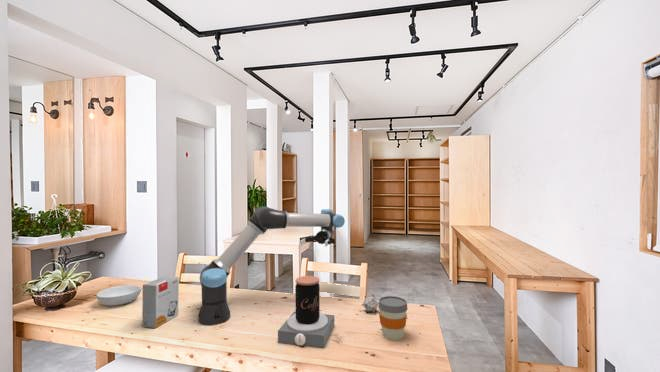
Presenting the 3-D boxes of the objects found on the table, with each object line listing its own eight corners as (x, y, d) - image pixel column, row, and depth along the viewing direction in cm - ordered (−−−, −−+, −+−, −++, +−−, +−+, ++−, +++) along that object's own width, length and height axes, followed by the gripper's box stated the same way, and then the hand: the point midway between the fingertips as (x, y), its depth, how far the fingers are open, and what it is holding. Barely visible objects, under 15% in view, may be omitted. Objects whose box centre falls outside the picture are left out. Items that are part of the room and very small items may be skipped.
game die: (373, 319, 160) (379, 309, 154) (358, 312, 161) (363, 301, 155) (377, 305, 167) (382, 295, 161) (362, 299, 168) (367, 288, 162)
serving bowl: (146, 301, 176) (146, 289, 176) (102, 313, 160) (101, 300, 160) (134, 293, 190) (134, 282, 190) (92, 303, 174) (92, 291, 174)
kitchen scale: (277, 343, 129) (276, 328, 129) (294, 321, 149) (294, 309, 149) (323, 349, 124) (323, 333, 124) (334, 325, 145) (334, 312, 145)
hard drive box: (155, 329, 143) (154, 286, 142) (141, 327, 144) (141, 284, 144) (179, 315, 158) (178, 276, 158) (166, 313, 160) (166, 275, 159)
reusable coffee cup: (393, 325, 145) (393, 294, 144) (413, 337, 134) (413, 302, 134) (372, 333, 138) (372, 299, 138) (392, 345, 127) (392, 309, 127)
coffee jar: (299, 327, 130) (299, 284, 130) (292, 317, 140) (292, 277, 140) (323, 322, 135) (323, 281, 135) (314, 313, 144) (314, 274, 144)
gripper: (343, 243, 182) (336, 251, 161) (303, 242, 188) (291, 249, 167) (343, 231, 182) (336, 237, 161) (303, 229, 188) (291, 235, 167)
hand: (313, 243), depth 164 cm, fingers open, 13 cm apart
